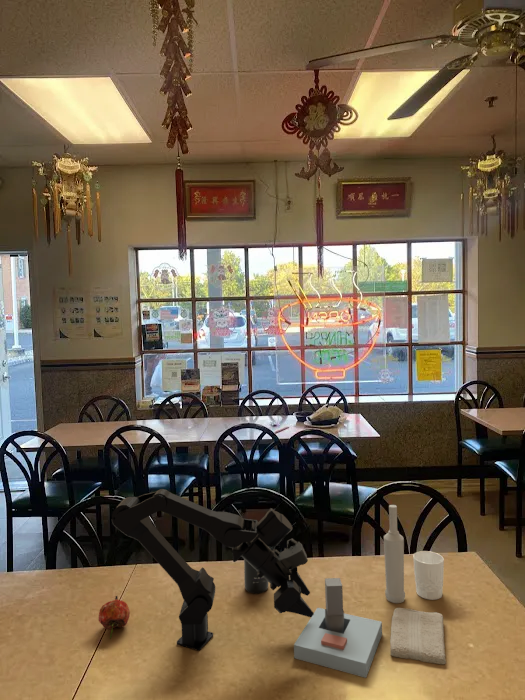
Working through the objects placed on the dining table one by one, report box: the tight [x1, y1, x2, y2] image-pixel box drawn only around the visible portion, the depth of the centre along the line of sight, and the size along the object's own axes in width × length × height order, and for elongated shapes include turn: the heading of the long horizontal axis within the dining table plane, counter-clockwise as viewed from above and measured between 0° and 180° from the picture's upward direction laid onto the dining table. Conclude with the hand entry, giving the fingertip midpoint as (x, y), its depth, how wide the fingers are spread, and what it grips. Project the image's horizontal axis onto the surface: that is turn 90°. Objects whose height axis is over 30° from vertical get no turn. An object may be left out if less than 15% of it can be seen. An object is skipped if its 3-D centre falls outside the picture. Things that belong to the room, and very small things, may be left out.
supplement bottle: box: [243, 558, 269, 594], centre depth 138 cm, size 7×7×12 cm
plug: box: [324, 577, 345, 634], centre depth 114 cm, size 4×4×13 cm
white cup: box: [412, 550, 445, 601], centre depth 132 cm, size 8×8×10 cm
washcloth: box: [389, 607, 447, 665], centre depth 113 cm, size 12×18×3 cm, turn 163°
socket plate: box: [293, 607, 383, 679], centre depth 111 cm, size 16×16×4 cm
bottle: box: [383, 504, 406, 604], centre depth 130 cm, size 5×5×25 cm
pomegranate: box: [98, 595, 131, 640], centre depth 120 cm, size 7×7×10 cm
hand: (310, 604), depth 114 cm, fingers open, 9 cm apart
